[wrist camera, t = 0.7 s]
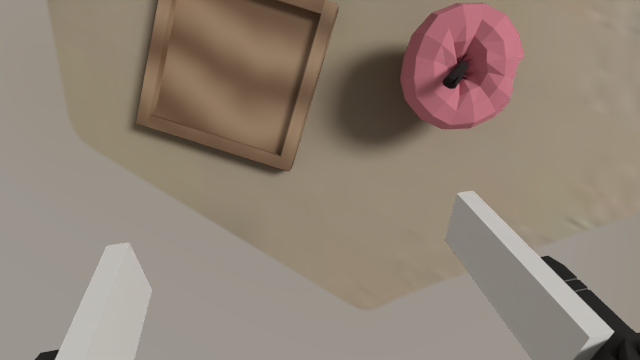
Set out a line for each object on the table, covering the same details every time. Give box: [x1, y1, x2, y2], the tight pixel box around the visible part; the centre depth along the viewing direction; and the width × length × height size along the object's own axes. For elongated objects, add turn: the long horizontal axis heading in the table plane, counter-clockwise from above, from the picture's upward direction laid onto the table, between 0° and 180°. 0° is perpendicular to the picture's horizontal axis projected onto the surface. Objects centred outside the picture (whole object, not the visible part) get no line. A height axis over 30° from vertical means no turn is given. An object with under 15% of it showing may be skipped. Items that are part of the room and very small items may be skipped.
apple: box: [400, 3, 525, 129], centre depth 28 cm, size 10×9×10 cm
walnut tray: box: [136, 0, 338, 171], centre depth 33 cm, size 16×16×2 cm
